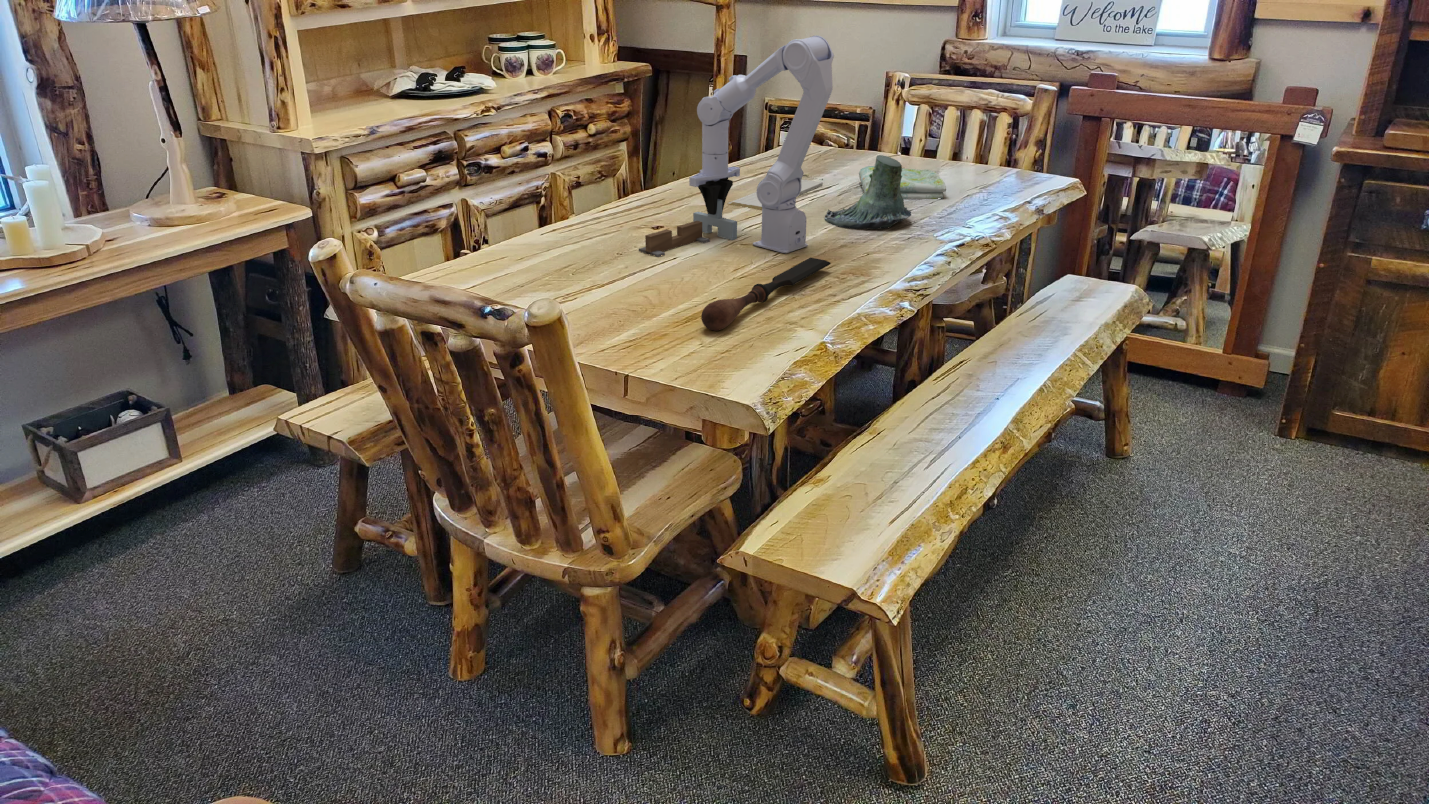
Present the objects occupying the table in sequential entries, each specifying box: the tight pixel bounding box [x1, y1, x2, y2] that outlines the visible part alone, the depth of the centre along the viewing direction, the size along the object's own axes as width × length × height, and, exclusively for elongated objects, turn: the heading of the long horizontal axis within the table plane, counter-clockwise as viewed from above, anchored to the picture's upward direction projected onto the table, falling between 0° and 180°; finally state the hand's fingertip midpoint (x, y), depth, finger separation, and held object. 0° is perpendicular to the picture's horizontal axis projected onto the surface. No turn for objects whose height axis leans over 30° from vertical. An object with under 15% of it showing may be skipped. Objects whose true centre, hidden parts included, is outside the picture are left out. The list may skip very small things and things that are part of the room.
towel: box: [858, 165, 947, 200], centre depth 269 cm, size 18×21×5 cm
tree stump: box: [824, 154, 912, 230], centre depth 240 cm, size 18×20×18 cm
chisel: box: [700, 257, 832, 332], centre depth 192 cm, size 5×43×5 cm, turn 147°
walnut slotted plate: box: [638, 221, 711, 258], centre depth 223 cm, size 6×16×4 cm, turn 137°
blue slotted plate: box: [692, 199, 738, 241], centre depth 231 cm, size 12×2×8 cm, turn 47°
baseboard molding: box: [726, 174, 824, 211], centre depth 266 cm, size 31×3×12 cm
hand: (714, 212), depth 230 cm, fingers closed on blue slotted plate, 2 cm apart
